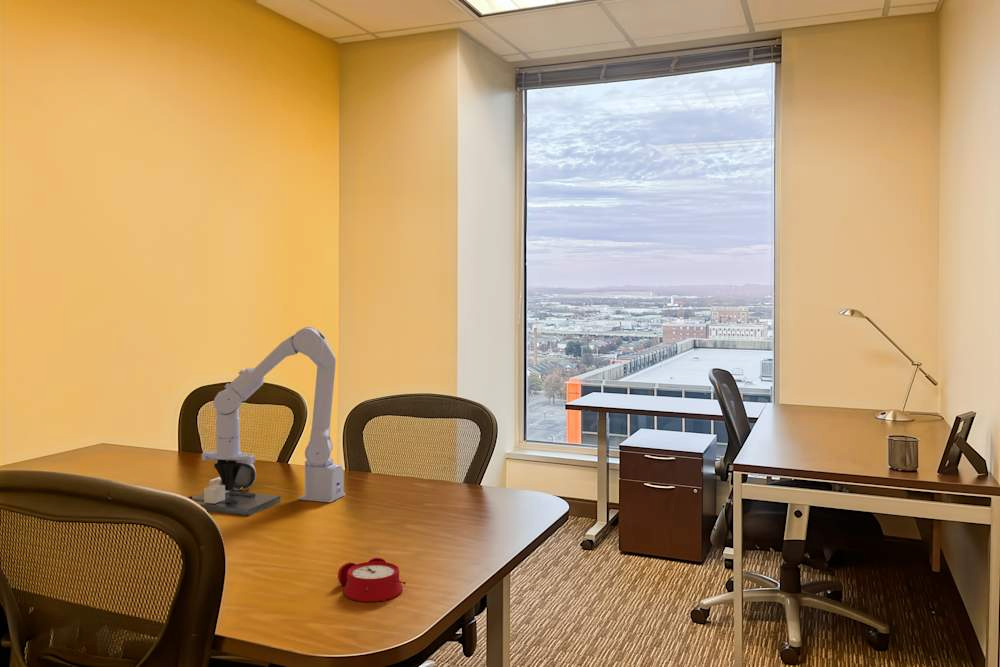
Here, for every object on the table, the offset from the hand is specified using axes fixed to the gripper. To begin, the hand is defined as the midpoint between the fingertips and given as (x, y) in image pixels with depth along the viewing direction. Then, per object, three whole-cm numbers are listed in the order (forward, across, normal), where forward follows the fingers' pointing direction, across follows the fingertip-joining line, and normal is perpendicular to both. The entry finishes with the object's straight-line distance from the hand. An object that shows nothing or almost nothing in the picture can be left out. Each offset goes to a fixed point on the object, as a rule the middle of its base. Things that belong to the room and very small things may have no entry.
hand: (228, 489), depth 200 cm
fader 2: (+1, -1, +7) cm, 7 cm away
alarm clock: (+3, -61, +41) cm, 74 cm away
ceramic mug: (+3, +6, -11) cm, 13 cm away
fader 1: (+1, +3, 0) cm, 3 cm away
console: (+3, -3, +4) cm, 5 cm away
